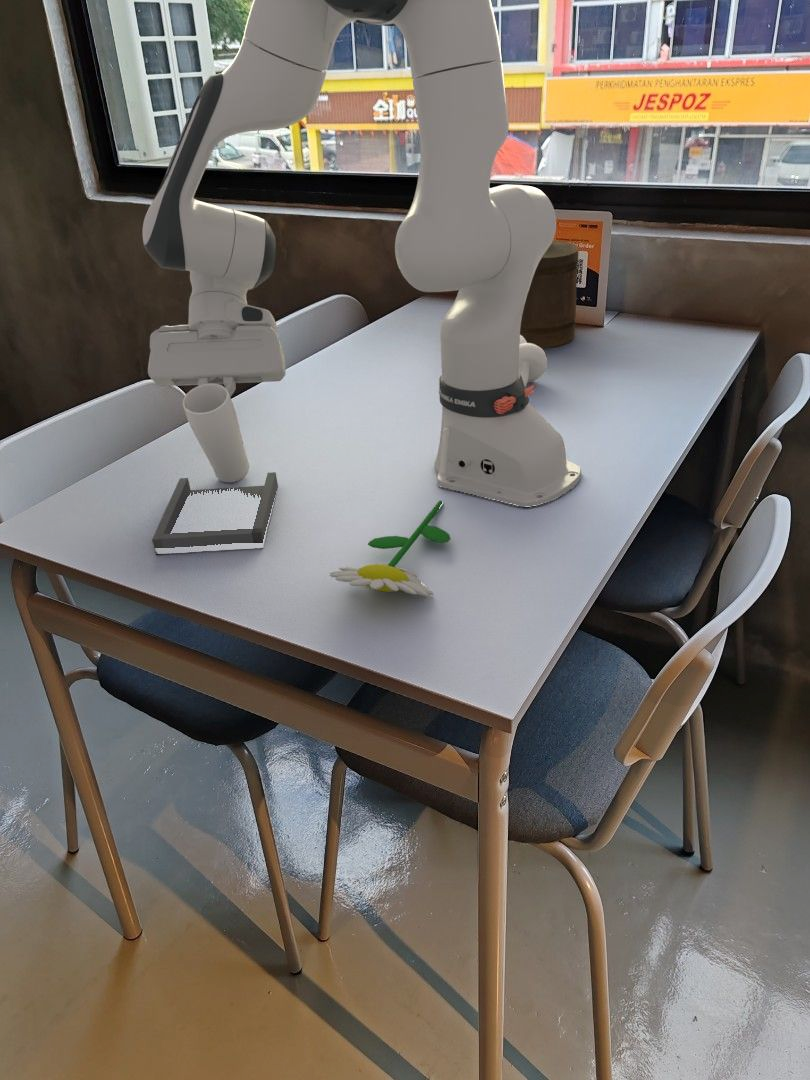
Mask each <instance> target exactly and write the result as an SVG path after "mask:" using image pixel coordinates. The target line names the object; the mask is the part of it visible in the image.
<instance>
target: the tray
mask: <svg viewBox="0 0 810 1080" xmlns="http://www.w3.org/2000/svg"><path fill="white" fill-rule="evenodd" d="M277 478H278V477H277V473H276V472H273V471H272V472H267V474H266V477H265V482H264V485H252V486H250V485H249V486H237V487H238V488H237V487H236V486H235V487H234V486H233V487H234V491H235V490H237V489H238V491H239V489H240V491H241V493H242V491H243V493H244V495H245V493H246V495H247V497H248V493H250V495H251V496H252V495H253V497H254V498H255V495H256V494H257V496H258V498H259V495H260V497H261V500H260V504H259V507H258V511H257V515H256V519H255V522H254V526H253V529H237V530H221V531H204V532H188V533H172V534H170V533H171V531H172V529H173V527H174V525H175V523H176V520H177V518H178V517H179V514H180V512H181V510H182V508H183V506H184V504H185V501H186V499H187V497H188V496H189V495H190V493H191V496H192V495H193V492H194V494H197V492H198V493H200V494H201V492H202V491H203V495H204V492H206V493H207V491H208V493H209V490H210V491H212V494H213V491H214V490H215V492H216V490H217V492H218V494H219V490H220V489H221V493H222V491H223V490H225V491H227V489H228V491H229V488H230V491H231V489H233V487H219V488H218V487H217V488H203V489H202V488H201V489H191V486H190V482H189V481H190V480H189V477H180V478H179V479H178V481H177V484H176V486H175V489H174V490H173V492H172V495H171V497H170V499H169V501H168V504H167V505H166V508H165V510H164V511H163V512H164V513H163V515H162V517H161V518H160V520H159V523H158V526H157V527H156V530H155V532H154V534H153V537H151V540H152V545H153V548H175V547H190V546H191V547H193V546H207V545H215V544H216V545H218V544H220V545H221V544H232V543H263V539H264V535H265V531H266V527H267V524H268V520H269V517H270V513H271V509H272V505H273V502H274V498H275V495H276V496H277V494H276V491H277V492H278V490H277V487H278V488H279V484H278V479H277ZM205 490H206V491H205ZM254 494H255V495H254ZM275 499H276V498H275ZM274 503H275V502H274Z"/></svg>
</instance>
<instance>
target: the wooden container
mask: <svg viewBox="0 0 810 1080" xmlns="http://www.w3.org/2000/svg"><path fill="white" fill-rule="evenodd" d="M578 264H579V246H577V245H576V244H574V243H572V242H568V241H563V240H553V241H552V243H551V245H550V246H549V248H548V249H547V250H546V252H545V253H544V255H543V256H542V258H541V260H540V262H539V264H538V266H537V268H536V271H535V273H534V276H533V279H532V282H531V285H530V288H529V291H528V295H527V298H526V302H525V305H524V310H523V314H522V319H521V327H520V335H521V336H523V337H524V338H525V340H526V342H527V343H531V344H535V345H537V346H539V347H540V348H541V349H547V347H548V348H554V346H555V347H559V346H562V345H565V344H568V343H570V342H571V341H572V340H573V339H574V338H575V333H576V332H575V331H576V330H575V329H576V315H577V313H576V312H577V286H578V285H577V282H578V281H577V279H578V278H577V277H578Z"/></svg>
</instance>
